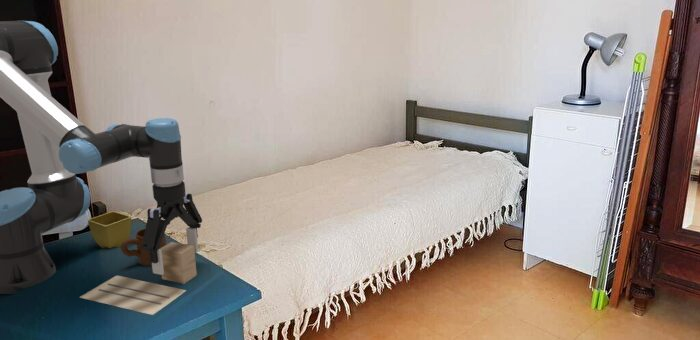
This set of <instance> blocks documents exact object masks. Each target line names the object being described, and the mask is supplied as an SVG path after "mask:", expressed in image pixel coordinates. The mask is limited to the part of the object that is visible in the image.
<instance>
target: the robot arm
mask: <svg viewBox="0 0 700 340" xmlns="http://www.w3.org/2000/svg"><path fill="white" fill-rule="evenodd" d="M58 55H59V47H58V44H57V41H56V39H55V37H54V35H53V34H52V33H51V31H50V30H49V29H48V28H46V27H45V26H44V25H43V24H42V23H39V22H36V21H32V20H29V21H28V20H8V21H5V20H4V21H0V99H2V100H3V101H4V102H5V104H8V105H9V106H10V107H11V108H12V109H13V110H14V111H16V113H17V119H18V122H19V126H20V130H21V134H22V140H23V142H24V143H23V144H24V146H25V150H26V151H25V152H26V155H27V159H28V163H29V167H30V171H31V174H30V176H29V177H28V180H27V186H28V187H13V188H10V189H5V190H2V191H0V295H12V294H15V293H17V292H19V291H21V290H23V289H26V288H30V287H34V286H37V285H38V284H41V283H43V282H45V281H47V280H49V279H50V278H51V277H53V275H54V274H55V273H56V272H57V270H56V269H57V268H56V265H55V262H54V261H53V260H52V258H51V256H50V255H49V253H48V252H47V250H46V248H45V245H44V240H43V239H44V238H43V235H44V234H45V233H46V232H50V231H52V230H54V229H56V228H59V227H61V226H64V225H65V224H68V223H69V224H70V223H73V222H74V221H76V220H77V219H79V218H80V217H81V218H82V216H84V214H86V213H87V211H88V209H89V207H90V204H91V194H90V189H89V187H88V185H87V184H85V181H84V180H83V179H81V178H80V177H77V175H79V174H85V173H88V172H94V171H96V170H97V169H99V168H100V169H101V168H102V167H105V166H108V165H111V164H114V163H115V164H116V163H118V162H120V161H124V160H126V159H129V158H133V157H137V158H147V159H148V160H149V167H150V179H151V183H152V184H153V185H152V186H151V187H152V195H153V196H152V197H153V199H154V200H155V201H156V203H157V204H156V205H157V206H156V208H148V209H147V214H146V215H147V220H146V225H145V227H144V228H145V233H144V238H143V242H142V247H141V249H142V250H145V251H149V255H150V262H151V263H152V265H151V268H152V274H155V275H163V274H164V269H163V260H162V251H161V249H159V246H160V243H161V241H162V238H163V235H164V233H165V234H166V229H167V227H168V225H170V224H171V221H174V219H176V218H180V220H181V221H182V222H184V224H186V225H187V227H186V228H185V232H186V233H185V234H186V243H187V244H186V245H191V246H194V251H195V254H196V253H198V252H199V244H198V243H199V242H198V237H199V235H198V229H200V228H201V226H202V224H201V223H202V222H203V218H202V216H201V214H200V213H199V211H198V209H197V206H196V204H195V203H194V200H193V196H192V193H188V192H186V183H185V181H184V180H185V175H184V166H183V160H182V159H183V158H182V142H181V140H182V136H181V132H180V126H179V123H178V121H177V120H176V119H174V118H169V117H166V118H163V117H162V118H161V117H160V118H159V117H158V118H153V119H149V120H147V121H146V123H145V126H143V125H133V124H126V123H122V124H111V125H109V126H108V127H107V128H106V129H105V130H104V131H101V132H97V133H95V132H94V131H93V130H91V129H90V128H89V127H87V126H86V125H85V124H84V123H82V121H80V120H79V119H78V118H77V117H76V116H75V115H74V114H72V113H71V112H70V111H69V110H68V109H67V108H66V107H65V106H63V105H62V104H61V103H59V102H58V101H57V100H56V99H55V98H54V97H53V96H52V93H51V90H50V85H49V81H48V80H49V79H50V77H51V76H52V74H53V69H52V65H53V64H55V62H56V61H57V60H58V59H57V57H58ZM154 244H155V246H154Z"/></svg>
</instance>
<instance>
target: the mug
mask: <svg viewBox="0 0 700 340" xmlns="http://www.w3.org/2000/svg"><path fill="white" fill-rule="evenodd" d="M145 228H146V227H144V228H141V229H139V230H138V231H136V233H135V238H133V237H132V238H130V237H129V239H126V240H125V241H123V243H122V244H121V247H120V251H121V253H122V254H123V255H124V256H126V257H136V258H138V263H139V265H142V266H147V267H148V266H151V267H152V263H151V262H150V255H149V251H145V250H142V249H141V247H142V242H143V238H144V233H145ZM167 244H168V243H167V236H166V232H165V233H164V235H163V238H162V241H161V243H160V246H159V249H160V248H162V247H164V246H165V245H167ZM128 245H134V246H135V245H136V249H128ZM154 246H155V244H154Z"/></svg>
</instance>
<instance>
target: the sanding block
mask: <svg viewBox="0 0 700 340" xmlns="http://www.w3.org/2000/svg"><path fill="white" fill-rule="evenodd" d="M166 244H167V245H165V246H164V247H162V248H160V249H161V251H162V260H163V269H164V274H163V275H161V280H165V281H170V282H173V283H179V284H183V285H185V284H186V283H188V282H189V281H191V280H192V279H193V278H195V277H196V276H198V275H197V274H198V273H197V264H196V252H195V251H194V246H191V245H188V244H185V243H181V242H174V241H171V242H169V243H166Z"/></svg>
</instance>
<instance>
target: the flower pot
mask: <svg viewBox="0 0 700 340" xmlns="http://www.w3.org/2000/svg"><path fill="white" fill-rule="evenodd" d="M87 223H88V226H89V229H90V230H89V231H90V233H91V236H92V238H93V241H95V243H96V244H97V245H98V246H99V247H100V248H107V249H113V248H114V247H115V248H116V247H117V248H121V244H122V243H123V241H125V240H126V239H129V238H130V236H131V234H132V233H131V231H132V216H130V215H128V214H125V213H121V212H118V211H115V210H113V211H112V210H111V211H108V212H106V213H103V214H100V215H98V216H94V217H91V218H89V219H87Z"/></svg>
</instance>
